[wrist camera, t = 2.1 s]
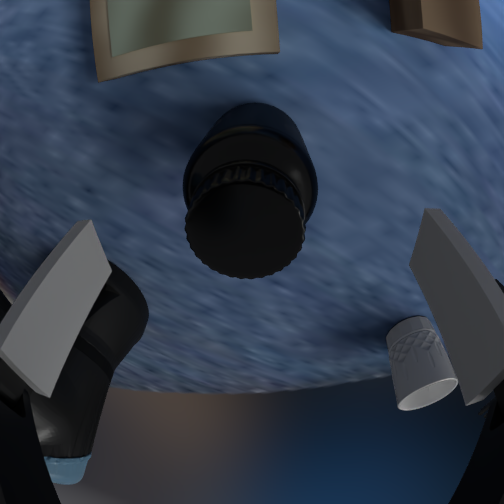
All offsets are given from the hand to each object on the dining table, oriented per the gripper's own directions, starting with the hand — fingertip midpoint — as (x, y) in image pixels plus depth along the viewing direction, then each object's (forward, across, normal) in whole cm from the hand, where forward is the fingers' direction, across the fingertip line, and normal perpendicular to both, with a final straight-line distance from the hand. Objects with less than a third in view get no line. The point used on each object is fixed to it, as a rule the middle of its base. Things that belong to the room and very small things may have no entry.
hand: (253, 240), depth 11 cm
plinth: (+12, -4, +13) cm, 19 cm away
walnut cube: (+13, +12, +12) cm, 21 cm away
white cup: (+13, +18, -24) cm, 33 cm away
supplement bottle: (+13, 0, 0) cm, 13 cm away
